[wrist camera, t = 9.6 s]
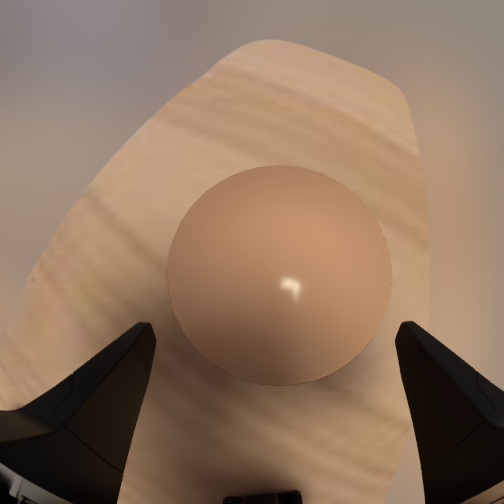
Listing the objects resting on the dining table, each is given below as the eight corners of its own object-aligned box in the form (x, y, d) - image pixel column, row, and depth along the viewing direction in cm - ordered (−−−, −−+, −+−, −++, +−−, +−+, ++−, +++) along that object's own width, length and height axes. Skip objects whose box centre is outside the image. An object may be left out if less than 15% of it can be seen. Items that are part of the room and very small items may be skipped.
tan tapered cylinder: (317, 339, 18) (413, 345, 5) (242, 356, 18) (190, 403, 5) (299, 266, 19) (350, 152, 7) (227, 283, 19) (157, 191, 7)
